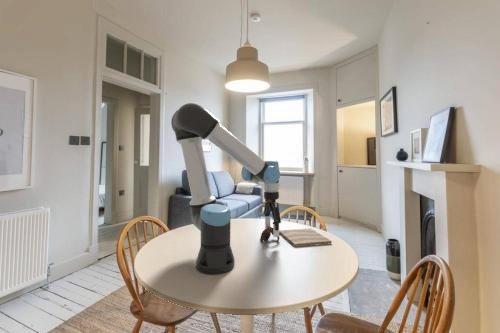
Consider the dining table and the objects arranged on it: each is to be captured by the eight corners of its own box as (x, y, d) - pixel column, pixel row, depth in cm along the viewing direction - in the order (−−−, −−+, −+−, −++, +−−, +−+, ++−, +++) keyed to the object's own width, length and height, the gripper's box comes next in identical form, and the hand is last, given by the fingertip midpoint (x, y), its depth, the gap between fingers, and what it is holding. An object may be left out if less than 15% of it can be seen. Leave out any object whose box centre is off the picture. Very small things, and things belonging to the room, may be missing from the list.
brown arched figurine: (261, 237, 129) (269, 224, 130) (276, 248, 125) (284, 235, 125) (254, 238, 119) (262, 224, 119) (269, 250, 115) (278, 235, 115)
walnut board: (331, 243, 119) (331, 240, 119) (294, 246, 115) (294, 243, 115) (310, 230, 141) (310, 228, 141) (278, 233, 136) (278, 230, 136)
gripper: (287, 194, 110) (287, 239, 110) (270, 187, 134) (271, 224, 135) (272, 195, 108) (272, 241, 109) (257, 188, 132) (258, 226, 133)
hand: (271, 232), depth 122 cm, fingers open, 13 cm apart
